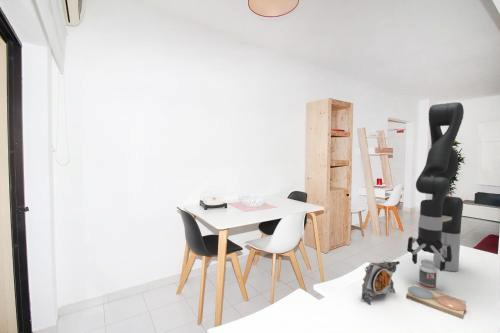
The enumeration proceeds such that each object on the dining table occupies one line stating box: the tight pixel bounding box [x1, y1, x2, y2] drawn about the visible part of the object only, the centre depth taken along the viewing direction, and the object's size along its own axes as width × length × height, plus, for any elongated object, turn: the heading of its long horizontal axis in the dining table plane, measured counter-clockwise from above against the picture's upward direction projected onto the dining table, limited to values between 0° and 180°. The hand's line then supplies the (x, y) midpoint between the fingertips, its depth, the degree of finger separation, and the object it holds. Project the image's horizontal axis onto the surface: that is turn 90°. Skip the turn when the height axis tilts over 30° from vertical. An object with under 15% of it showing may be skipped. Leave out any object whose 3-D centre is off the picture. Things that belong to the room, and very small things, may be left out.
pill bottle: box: [418, 259, 438, 290], centre depth 99 cm, size 6×6×10 cm
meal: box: [361, 260, 401, 306], centre depth 92 cm, size 15×4×13 cm, turn 115°
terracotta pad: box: [437, 295, 467, 312], centre depth 86 cm, size 8×8×1 cm
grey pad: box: [407, 285, 434, 299], centre depth 93 cm, size 8×8×1 cm
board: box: [405, 283, 467, 319], centre depth 89 cm, size 10×16×1 cm, turn 45°
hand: (427, 266), depth 98 cm, fingers open, 8 cm apart
